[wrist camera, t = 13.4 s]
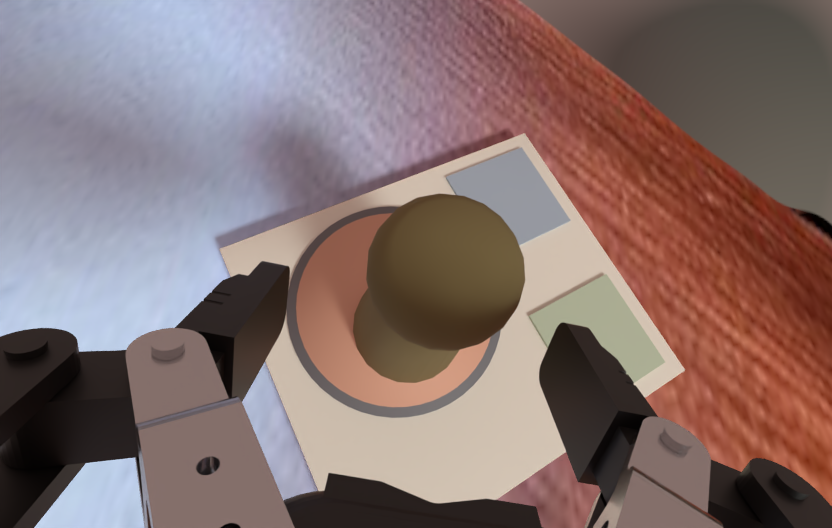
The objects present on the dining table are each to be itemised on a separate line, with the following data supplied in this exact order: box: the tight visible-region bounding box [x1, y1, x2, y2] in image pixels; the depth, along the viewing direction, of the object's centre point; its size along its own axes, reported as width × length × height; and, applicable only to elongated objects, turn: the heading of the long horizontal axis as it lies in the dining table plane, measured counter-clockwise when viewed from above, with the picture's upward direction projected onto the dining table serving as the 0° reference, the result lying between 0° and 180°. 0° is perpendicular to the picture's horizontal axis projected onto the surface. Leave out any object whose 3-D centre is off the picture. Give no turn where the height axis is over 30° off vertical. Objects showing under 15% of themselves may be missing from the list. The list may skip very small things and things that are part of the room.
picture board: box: [220, 133, 685, 503], centre depth 23 cm, size 21×18×1 cm
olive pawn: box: [353, 193, 525, 383], centre depth 17 cm, size 6×6×11 cm
